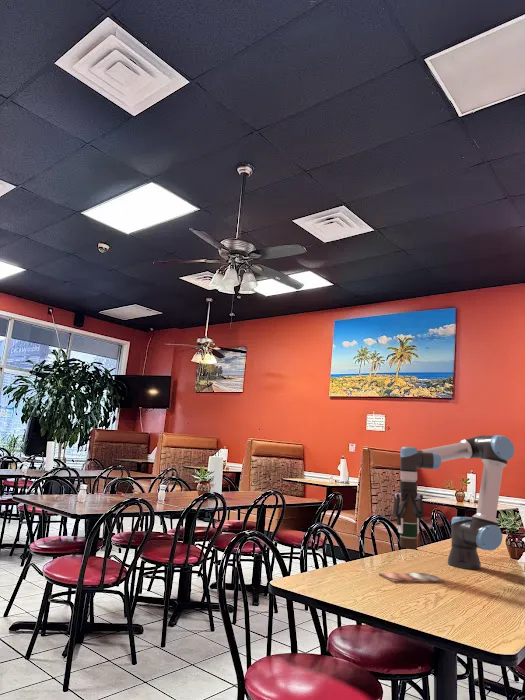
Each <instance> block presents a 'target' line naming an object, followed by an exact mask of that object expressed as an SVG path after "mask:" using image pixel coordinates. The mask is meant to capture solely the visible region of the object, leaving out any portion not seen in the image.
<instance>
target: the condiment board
mask: <svg viewBox="0 0 525 700" xmlns="http://www.w3.org/2000/svg"><path fill="white" fill-rule="evenodd" d="M378 576H380V577H381V578H383V579H385V580H387V581H389V582H391V583H393V584H446V580H443V579H441V578H440V577H438V576H437V575H434V574H431V573H424V572H412V573H411V572H410V573H400V572H385V573H380V572H379V573H378Z"/></svg>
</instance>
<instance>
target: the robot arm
mask: <svg viewBox="0 0 525 700" xmlns="http://www.w3.org/2000/svg"><path fill="white" fill-rule="evenodd" d="M514 455H515V447H514V444H513V442H512V440H511V439H510V438H509V437H508V436H505V435H499V434H493V435H492V434H491V435H485V434H484V435H477V436H474V437H471V438H470V437H469V438H466V439H462V440H460V441H459V442H455V443H450V444H446V445H441V446H440V445H439V446H436V447H430V448H424V449H419V450H418V448H417V447H414V446H413V447H411V446H402V447H401V449H400V454H399V457H400V459H399V461H400V462H399V464H400V469H399V470H400V476H399V477H400V481H399V482H400V483H399V485H400V486H399V487H400V491H399V493H394V495H393V497H394V503H393V509H392V516H394V517H396V526H397V532H398V533H399V534H400V533H401V534H403V518H401V517H402V514H403V511H404V508H405V506H406V504H407V502H408V499H409V497H410V495H409V494H408V493H412V502H413V511H414V513H415V514H416V517H417V535H418V534H420V529H419V528H420V526H421V520H422V518H424V517H425V512H424V511H425V510H424V503H423V499H424V495H423V494H419V493H418V491H417V490H418V482H417V481H418V469H423V470H425V469H426V470H428V469H429V470H438V469H440V467H441V465H442V463H444V462H448V461H452V460H457V459H458V460H459V459H463V458H464V459H466V460H468V459H480V460H481V462H482V463H483V467H482V474H481V480H480V486H479V487H480V488H479V493H478V501H477V506H476V513H475V514H474V515H472V516H471V517H469V516H453V517H452V518H451V523H450V525H451V527H450V528H451V530H450V531H451V548H450V551H449V554H448V558H447V564H448V565H449V566H452V567H455V568H459V569H460V568H461V569H466V570H467V569H468V570H481V569H482V566H481V565H482V564H481V560H480V556H479V554H478V549H481V550H484V551H495V550H496V549H498V548H499V547H500V545H501V544H502V542H503V532H502V530H501V528H499V524H500V523H499V521H498V520H497V511H498V506H499V505H498V504H499V499H500V490H501V485H502V478H503V477H502V476H503V470H504V468H506V467H507V466H508V461H509V460H511V459H512V458H513V457H514Z"/></svg>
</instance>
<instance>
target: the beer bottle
mask: <svg viewBox="0 0 525 700" xmlns="http://www.w3.org/2000/svg"><path fill="white" fill-rule="evenodd" d="M408 494H409V495H410V497H409V499H408V502H407V504H406V506H405V508H404V511H403V514H402V517H401V518H403V534H401V533H399V547H400V548H402V549H407V550H416V549H417V548H418V534H417V517H416V514H415V513H414V511H413V502H412V493H408Z"/></svg>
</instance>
